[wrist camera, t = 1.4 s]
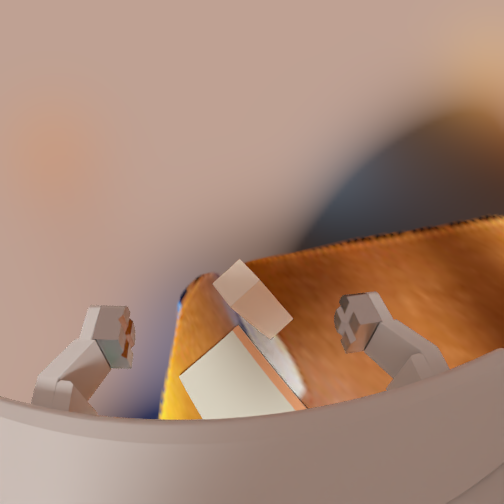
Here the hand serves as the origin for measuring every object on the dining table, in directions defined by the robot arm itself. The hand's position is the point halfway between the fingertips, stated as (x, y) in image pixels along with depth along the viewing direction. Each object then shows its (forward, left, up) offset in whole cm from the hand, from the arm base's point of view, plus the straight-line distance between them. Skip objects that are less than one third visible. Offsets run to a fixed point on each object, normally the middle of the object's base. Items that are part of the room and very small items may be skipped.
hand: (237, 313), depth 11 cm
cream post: (0, -16, -29) cm, 34 cm away
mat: (+11, -10, -29) cm, 33 cm away
